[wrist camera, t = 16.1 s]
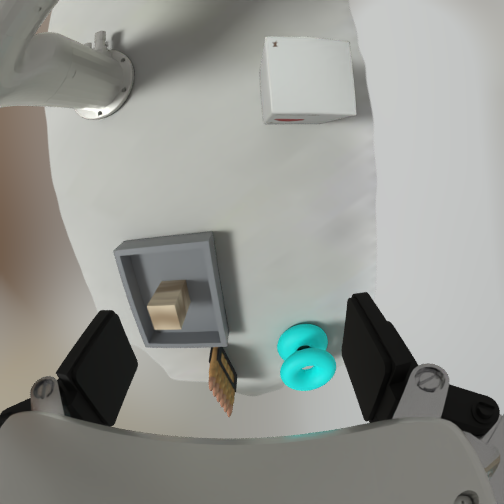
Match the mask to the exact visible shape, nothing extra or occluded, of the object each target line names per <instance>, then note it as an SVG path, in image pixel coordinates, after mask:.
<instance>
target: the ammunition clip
mask: <svg viewBox="0 0 504 504" xmlns="http://www.w3.org/2000/svg"><path fill="white" fill-rule="evenodd" d="M209 363H210V368H209V389H210V391H212V390H213V395H214V397H215V396H216V397H217V401H218V402H220V405H221V407H224V411H225V412H227V415H228V417H230V416H231V413H232V408H233V403H234V395H235V392H236V386H237V374H236V372H235V370H234V368H233V366H232V364H231V362H230V361H229V359H228V357H227V355H226V353H225V351H224V349H223V347H211V351H210V357H209Z"/></svg>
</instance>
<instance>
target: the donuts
mask: <svg viewBox="0 0 504 504" xmlns="http://www.w3.org/2000/svg"><path fill="white" fill-rule="evenodd" d="M304 345H308V346H310V347H309V348H307V349H302V350H297V349H298V348H299V347H301V346H304ZM327 345H328V339H327V335H326V333H325V332H324V331H323V330H322V329H321V328H320V327H318V326H316V325H312V324H299V325H296V326H293V327H291V328H289V329H288V330H286V331H285V332H284V333H283V334H282V335H281V337H280V338H279V341H278V345H277V349H278V353H279V355H280V357H281V358H282V359H283V360H284V363H283V364H282V366H281V370H280V375H281V379H282V381H283V382H284V384H285V385H287V386H288V387H290V388H292V389H295V390H301V391H308V390H313V389H316V388H319V387H321V386H323V385H325V384H326V383H327V382H328V381H329V380H330V379H331V378H332V377H333V375H334V373H335V371H336V362H335V359H334V357H333V356H332V355H331V354H330V353H329V352H327V351H326V349H327ZM306 366H313V367H312V368H310V369H306V370H304V369H302V368H304V367H306Z"/></svg>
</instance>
